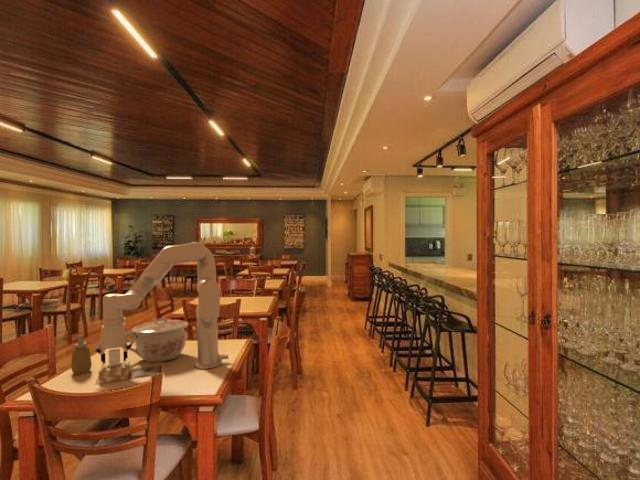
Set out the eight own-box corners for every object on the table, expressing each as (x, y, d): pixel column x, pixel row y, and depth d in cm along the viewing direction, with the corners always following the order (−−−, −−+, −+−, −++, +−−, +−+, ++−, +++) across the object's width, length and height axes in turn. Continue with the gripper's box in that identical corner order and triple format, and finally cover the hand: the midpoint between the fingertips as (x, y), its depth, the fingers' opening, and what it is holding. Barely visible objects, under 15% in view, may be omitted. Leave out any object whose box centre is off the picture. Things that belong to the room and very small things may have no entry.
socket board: (161, 367, 181) (161, 355, 181) (161, 376, 170) (161, 363, 169) (99, 376, 171) (98, 363, 171) (94, 387, 159) (94, 373, 159)
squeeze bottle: (88, 370, 181) (86, 332, 181) (94, 373, 176) (93, 335, 175) (68, 375, 175) (67, 336, 174) (75, 379, 169) (73, 339, 169)
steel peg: (120, 374, 171) (119, 348, 171) (119, 377, 167) (118, 350, 167) (110, 376, 169) (109, 349, 169) (109, 379, 165) (108, 351, 165)
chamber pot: (198, 350, 208) (197, 312, 208) (174, 367, 181) (173, 324, 180) (150, 350, 211) (148, 313, 210) (119, 367, 183) (117, 324, 183)
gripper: (135, 318, 175) (136, 356, 175) (92, 322, 168) (93, 362, 168) (134, 321, 168) (135, 361, 168) (89, 326, 161) (90, 367, 161)
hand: (114, 361), depth 168 cm, fingers open, 7 cm apart
